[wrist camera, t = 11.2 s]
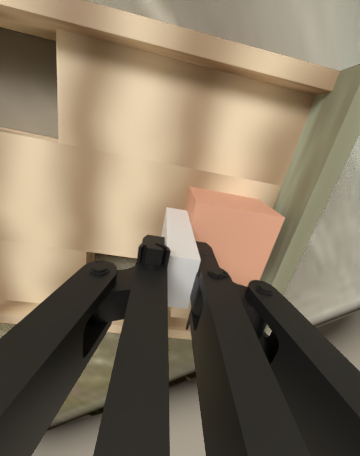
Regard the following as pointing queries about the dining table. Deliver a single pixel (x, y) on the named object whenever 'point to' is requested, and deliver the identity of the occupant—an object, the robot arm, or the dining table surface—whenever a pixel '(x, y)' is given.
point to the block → (234, 230)
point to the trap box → (160, 144)
